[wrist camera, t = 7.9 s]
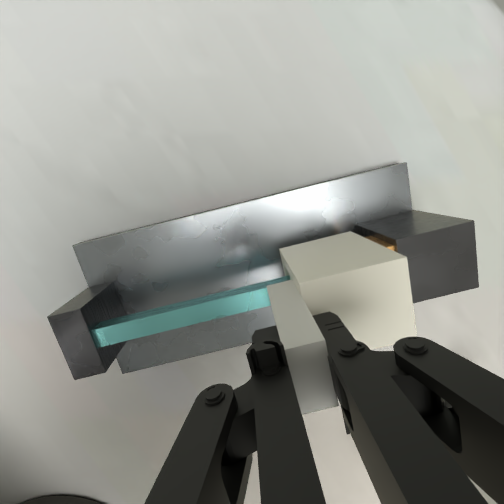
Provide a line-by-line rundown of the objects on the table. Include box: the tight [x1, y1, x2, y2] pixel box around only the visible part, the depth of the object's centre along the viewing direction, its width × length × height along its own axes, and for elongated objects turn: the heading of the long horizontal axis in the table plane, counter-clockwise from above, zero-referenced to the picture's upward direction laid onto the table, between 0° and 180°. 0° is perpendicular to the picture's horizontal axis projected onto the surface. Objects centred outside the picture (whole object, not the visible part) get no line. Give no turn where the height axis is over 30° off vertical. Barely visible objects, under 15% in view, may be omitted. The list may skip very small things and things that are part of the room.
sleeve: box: [279, 231, 417, 350], centre depth 18 cm, size 5×4×7 cm
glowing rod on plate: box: [47, 163, 479, 380], centre depth 21 cm, size 25×11×7 cm, turn 104°
